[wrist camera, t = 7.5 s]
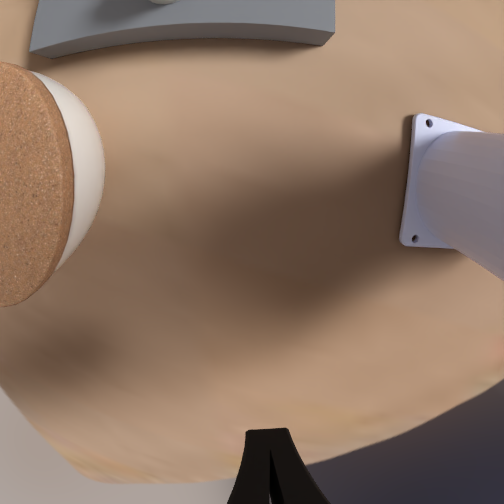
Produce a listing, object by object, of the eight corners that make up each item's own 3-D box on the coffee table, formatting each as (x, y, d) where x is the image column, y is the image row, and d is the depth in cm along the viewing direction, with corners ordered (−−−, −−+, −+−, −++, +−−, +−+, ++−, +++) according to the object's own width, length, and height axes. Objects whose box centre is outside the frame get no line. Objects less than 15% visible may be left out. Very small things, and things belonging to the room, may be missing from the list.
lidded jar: (-21, 177, 16) (-118, 211, 7) (59, 48, 14) (-45, 13, 5) (69, 282, 19) (-12, 367, 10) (172, 159, 16) (98, 183, 8)
